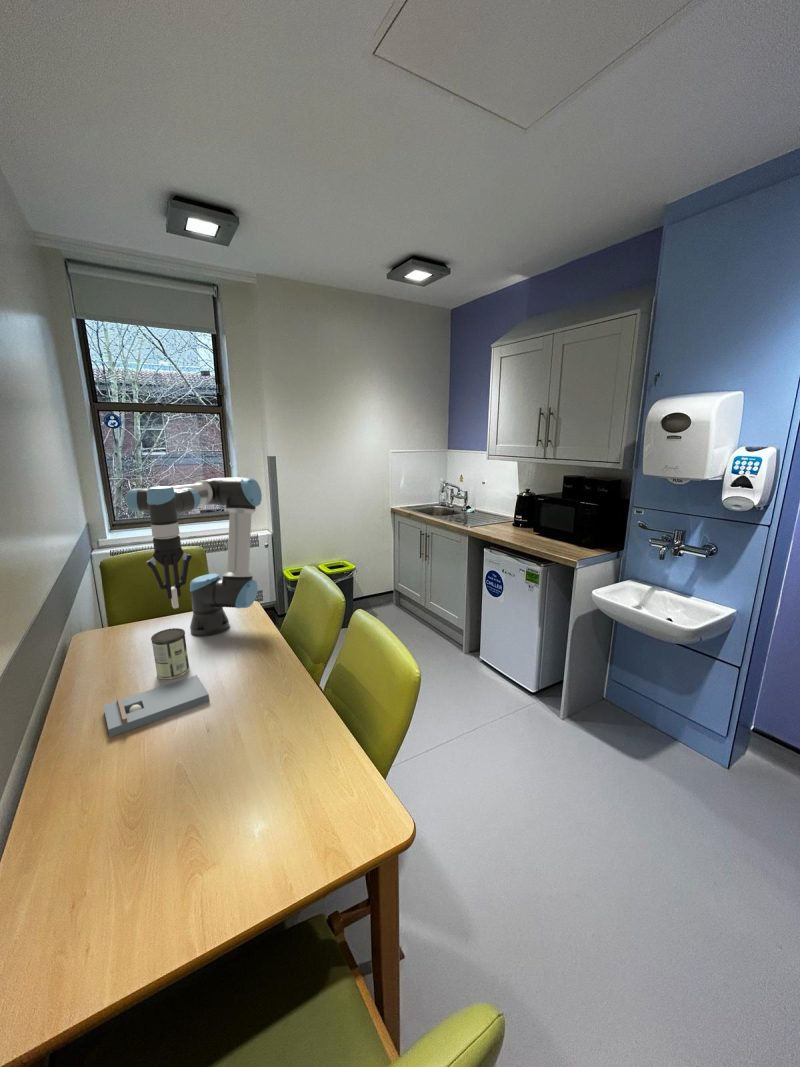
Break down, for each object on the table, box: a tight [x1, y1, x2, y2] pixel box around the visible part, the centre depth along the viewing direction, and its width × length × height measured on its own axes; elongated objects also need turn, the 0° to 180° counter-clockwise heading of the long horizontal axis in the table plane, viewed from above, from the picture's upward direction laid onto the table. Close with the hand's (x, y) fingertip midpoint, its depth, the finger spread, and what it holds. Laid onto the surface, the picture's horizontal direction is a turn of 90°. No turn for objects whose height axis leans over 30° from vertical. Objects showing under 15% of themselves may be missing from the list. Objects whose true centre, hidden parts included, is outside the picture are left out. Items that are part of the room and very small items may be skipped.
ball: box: [129, 705, 143, 713], centre depth 126 cm, size 3×3×3 cm
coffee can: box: [150, 627, 190, 680], centre depth 148 cm, size 10×10×14 cm
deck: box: [102, 674, 210, 738], centre depth 130 cm, size 26×14×4 cm, turn 129°
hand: (175, 606), depth 139 cm, fingers closed
